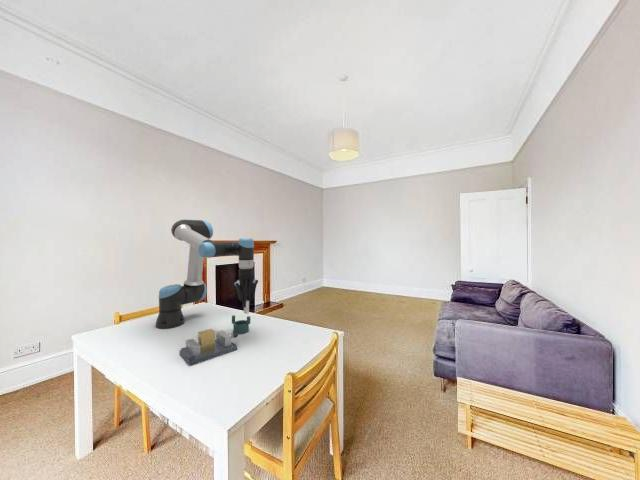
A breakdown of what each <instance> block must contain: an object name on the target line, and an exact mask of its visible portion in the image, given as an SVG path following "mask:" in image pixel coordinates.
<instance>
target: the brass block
mask: <svg viewBox="0 0 640 480" xmlns="http://www.w3.org/2000/svg"><path fill="white" fill-rule="evenodd" d="M215 332H216V331H215V330H214V329H213V328H209V329H205V330H201V331H198V333H197V340H198V341H197V343H198V344H199V345H200V346H201V352H204V351H207V350H210V349H213V348H215V340H216V339H215V338H216V336H215V335H216V333H215Z"/></svg>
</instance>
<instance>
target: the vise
mask: <svg viewBox="0 0 640 480" xmlns="http://www.w3.org/2000/svg"><path fill="white" fill-rule="evenodd" d="M235 351H238V345H237V344H235V343H234V342H232V341H231V346H228V347H224V346H223V345H221V344H220V343H219V342H217V341H216V339H215V348H213V349H210V350H207V351H204V352H201V346H200V345H199V344H198V341H196V340H195V339H194V338H190V339H187V340H185V347H181V348H180V349H179V356H180V357H181V358H182V359H183V361H185V363H186V364H187V365H188V367H191V366H194V365H197V364H200V363H203V362H206V361H209V360H212V359H215V358H217V356H218V357H220V356H223V355H225V354H226V355H227V354H229V353H231V352H232V353H233V352H235ZM214 357H215V358H214ZM211 358H212V359H211ZM208 359H209V360H208ZM205 360H206V361H205ZM202 361H203V362H202ZM199 362H200V363H199Z"/></svg>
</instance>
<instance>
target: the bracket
mask: <svg viewBox="0 0 640 480" xmlns="http://www.w3.org/2000/svg"><path fill="white" fill-rule="evenodd" d="M231 324H232V325H233V328H232V329H233V331H232V332H233V333H235V332H237V333H238V335H244V334H247V333H248V332H250V331H249V330H250V329H249V325H250V324H251V316H250V315H249V316H247V317H246V319H241V320H236V315H234V314H233V315H231ZM233 333H232V334H233Z"/></svg>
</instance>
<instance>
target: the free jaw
mask: <svg viewBox="0 0 640 480" xmlns="http://www.w3.org/2000/svg"><path fill="white" fill-rule="evenodd" d="M215 332H216V333H215V335H216V336H215V338H216V339H215V340H216V341H217V342H219V343H220V344H221V345H223V346H224V347H228V346H231V342H232V339H236V338H238V336H239V334H238V333H237V332H235V333H228V332H226V331H224V330H222V329H221V330H219V331H215Z"/></svg>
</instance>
